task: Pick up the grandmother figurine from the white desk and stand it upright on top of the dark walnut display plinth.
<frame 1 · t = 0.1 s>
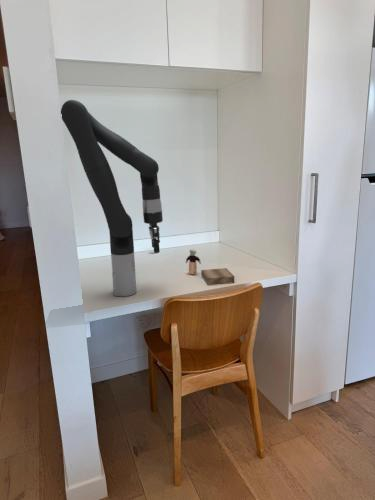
hand: (155, 249, 141), 17 cm above the table, tool pointing down, fingers open, 8 cm apart
walnut plinth: (217, 279, 155), on the table
grandmother figurine: (193, 274, 163), on the table
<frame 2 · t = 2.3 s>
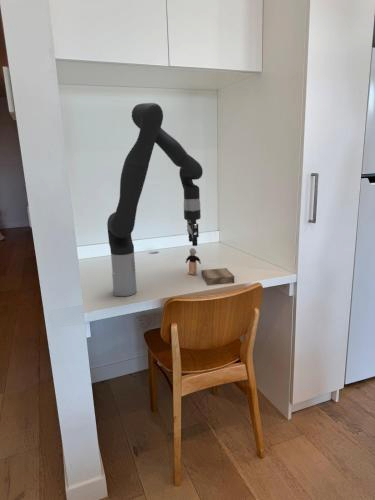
hand: (193, 243, 159), 15 cm above the table, tool pointing down, fingers open, 8 cm apart
nothing on the table moved.
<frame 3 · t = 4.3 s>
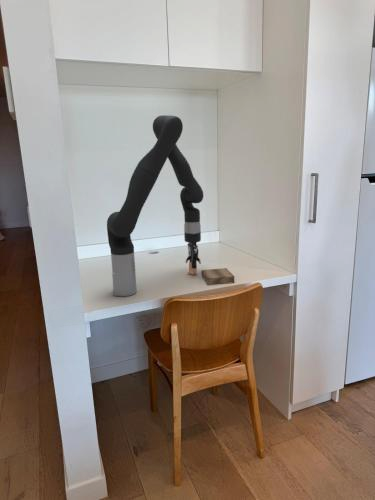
hand: (193, 266, 162), 4 cm above the table, tool pointing down, fingers closed on grandmother figurine, 3 cm apart
grandmother figurine: (193, 274, 163), on the table, touching gripper
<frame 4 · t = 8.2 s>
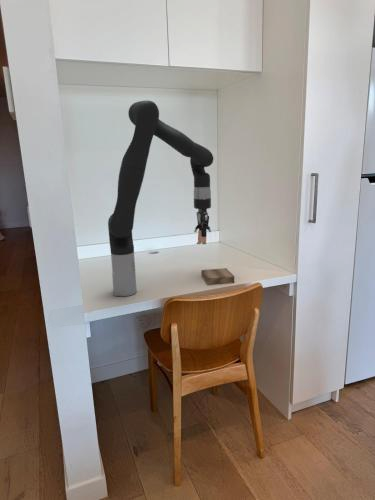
hand: (202, 235, 155), 19 cm above the table, tool pointing down, fingers closed on grandmother figurine, 3 cm apart
grandmother figurine: (202, 244, 156), point 15 cm above the table, touching gripper
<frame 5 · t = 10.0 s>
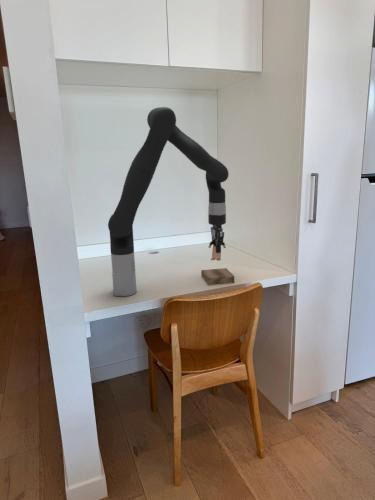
hand: (217, 251, 152), 13 cm above the table, tool pointing down, fingers closed on grandmother figurine, 3 cm apart
grandmother figurine: (217, 260, 153), point 9 cm above the table, touching gripper
when the fingers open (8 cm above the table, at t = 11.7 s): grandmother figurine stays where it is, resting on walnut plinth.
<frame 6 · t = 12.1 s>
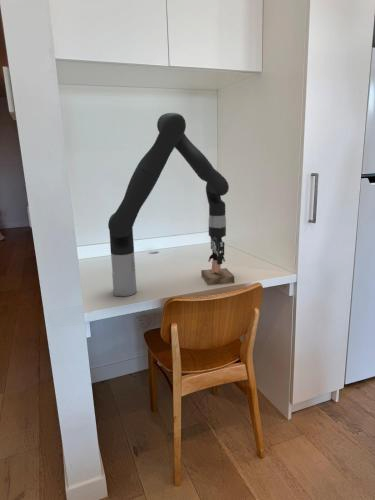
hand: (217, 261, 153), 8 cm above the table, tool pointing down, fingers open, 7 cm apart
grandmother figurine: (216, 273, 155), point 3 cm above the table, touching walnut plinth
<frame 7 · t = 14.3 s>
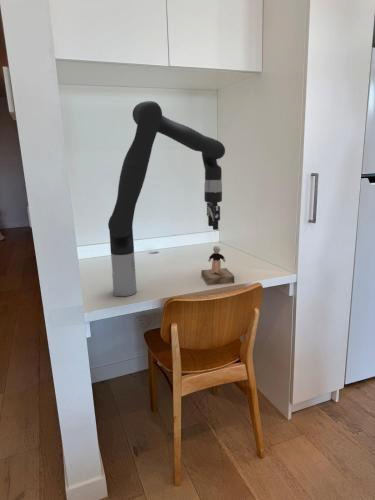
hand: (213, 227, 151), 23 cm above the table, tool pointing down, fingers open, 8 cm apart
nothing on the table moved.
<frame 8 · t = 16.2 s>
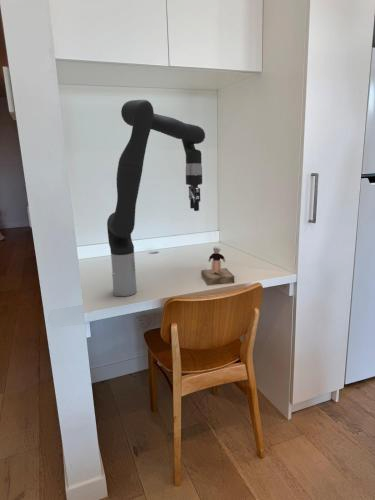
hand: (194, 209, 160), 30 cm above the table, tool pointing down, fingers open, 8 cm apart
nothing on the table moved.
at the end: grandmother figurine inside the target area on the walnut plinth (0.2 cm from its centre), point 2.8 cm above the walnut plinth's base; grandmother figurine tilted 0°; the gripper is holding nothing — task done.
